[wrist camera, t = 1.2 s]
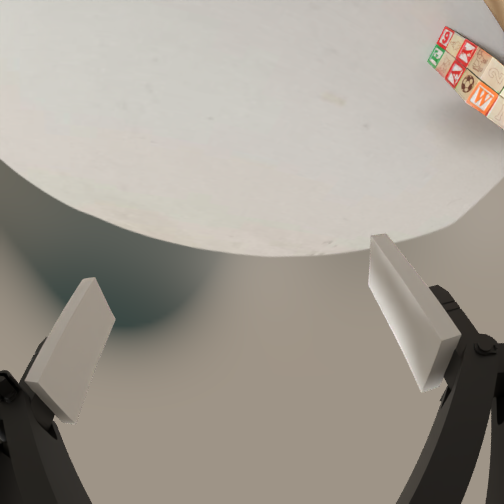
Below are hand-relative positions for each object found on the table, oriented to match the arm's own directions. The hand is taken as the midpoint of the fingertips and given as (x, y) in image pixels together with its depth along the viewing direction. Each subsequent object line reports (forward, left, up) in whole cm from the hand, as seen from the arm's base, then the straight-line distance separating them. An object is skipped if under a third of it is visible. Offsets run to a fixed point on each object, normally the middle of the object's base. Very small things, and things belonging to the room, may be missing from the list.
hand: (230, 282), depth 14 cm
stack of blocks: (+2, +31, -32) cm, 45 cm away
